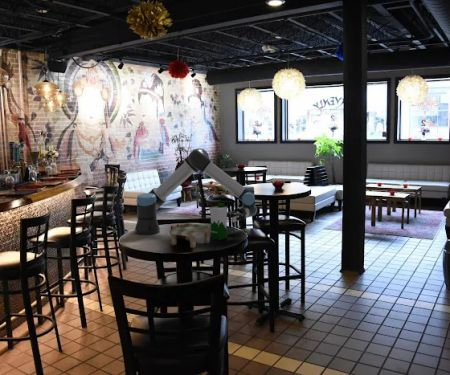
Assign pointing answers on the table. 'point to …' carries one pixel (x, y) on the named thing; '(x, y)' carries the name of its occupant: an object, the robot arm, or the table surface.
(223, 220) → the milk carton
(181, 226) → the stool
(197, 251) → the table surface
